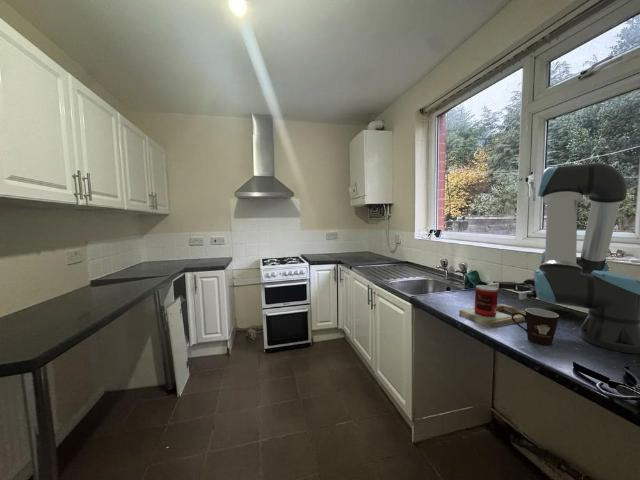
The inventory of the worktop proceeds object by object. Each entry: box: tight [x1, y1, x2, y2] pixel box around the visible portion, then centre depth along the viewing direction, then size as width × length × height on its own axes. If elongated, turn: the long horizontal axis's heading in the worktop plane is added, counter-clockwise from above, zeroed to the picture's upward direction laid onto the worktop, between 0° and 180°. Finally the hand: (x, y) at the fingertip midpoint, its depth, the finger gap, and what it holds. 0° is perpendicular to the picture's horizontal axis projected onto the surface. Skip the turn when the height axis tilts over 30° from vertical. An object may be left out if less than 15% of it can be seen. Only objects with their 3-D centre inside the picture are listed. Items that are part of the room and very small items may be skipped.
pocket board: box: [458, 303, 526, 329], centre depth 111 cm, size 14×26×2 cm, turn 110°
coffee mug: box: [511, 307, 560, 347], centre depth 90 cm, size 12×9×10 cm
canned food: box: [474, 284, 499, 317], centre depth 108 cm, size 8×8×11 cm
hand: (502, 291), depth 111 cm, fingers open, 13 cm apart
